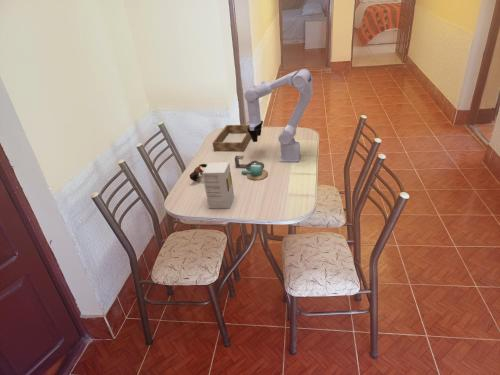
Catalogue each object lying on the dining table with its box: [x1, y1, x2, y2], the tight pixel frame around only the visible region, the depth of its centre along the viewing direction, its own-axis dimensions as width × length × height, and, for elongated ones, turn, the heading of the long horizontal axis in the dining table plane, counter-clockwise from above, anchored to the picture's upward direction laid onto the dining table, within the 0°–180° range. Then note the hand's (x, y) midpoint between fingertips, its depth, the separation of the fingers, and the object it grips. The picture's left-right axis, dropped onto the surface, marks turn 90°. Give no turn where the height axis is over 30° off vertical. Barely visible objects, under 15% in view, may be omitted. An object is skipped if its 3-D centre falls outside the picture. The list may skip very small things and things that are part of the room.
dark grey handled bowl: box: [234, 155, 265, 171], centre depth 174 cm, size 14×9×6 cm, turn 76°
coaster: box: [246, 168, 269, 182], centre depth 168 cm, size 10×10×1 cm
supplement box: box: [201, 161, 235, 209], centre depth 146 cm, size 10×9×17 cm
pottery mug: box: [189, 163, 208, 183], centre depth 168 cm, size 12×10×8 cm
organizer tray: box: [212, 124, 252, 153], centre depth 203 cm, size 17×26×5 cm, turn 166°
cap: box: [241, 164, 262, 177], centre depth 167 cm, size 10×5×4 cm, turn 70°
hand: (256, 138), depth 180 cm, fingers open, 7 cm apart
